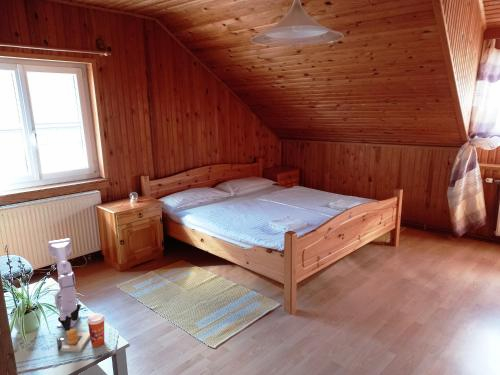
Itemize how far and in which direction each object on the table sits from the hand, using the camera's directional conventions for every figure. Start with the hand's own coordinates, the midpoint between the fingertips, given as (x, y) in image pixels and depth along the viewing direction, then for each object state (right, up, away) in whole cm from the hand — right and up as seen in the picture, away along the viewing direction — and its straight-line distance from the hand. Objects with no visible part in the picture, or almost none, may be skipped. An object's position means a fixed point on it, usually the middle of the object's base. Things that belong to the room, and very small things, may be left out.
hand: (71, 325), depth 169 cm
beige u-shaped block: (+1, -9, +3) cm, 10 cm away
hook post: (-5, -10, -1) cm, 11 cm away
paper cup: (+11, -10, +3) cm, 15 cm away
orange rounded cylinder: (0, -10, +2) cm, 10 cm away
